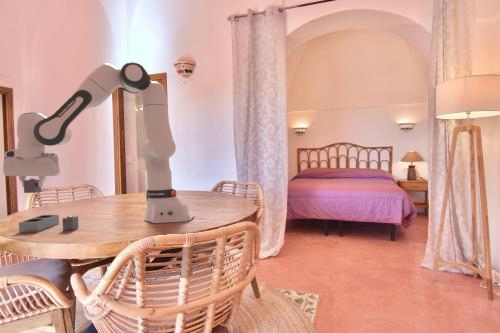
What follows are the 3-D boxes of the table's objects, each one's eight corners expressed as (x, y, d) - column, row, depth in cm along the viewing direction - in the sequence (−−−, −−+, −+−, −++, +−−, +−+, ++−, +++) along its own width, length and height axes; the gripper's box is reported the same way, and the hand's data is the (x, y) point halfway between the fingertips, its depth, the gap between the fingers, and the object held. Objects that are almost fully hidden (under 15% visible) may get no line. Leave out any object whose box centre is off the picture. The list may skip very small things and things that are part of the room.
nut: (41, 191, 120) (40, 178, 120) (34, 192, 116) (34, 178, 116) (31, 191, 120) (30, 178, 120) (24, 192, 116) (23, 178, 116)
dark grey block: (78, 228, 122) (77, 214, 121) (73, 230, 118) (72, 217, 117) (68, 228, 121) (68, 215, 121) (62, 230, 117) (62, 217, 117)
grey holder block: (42, 223, 129) (42, 214, 129) (59, 223, 130) (58, 214, 129) (19, 232, 115) (18, 222, 115) (37, 232, 116) (37, 222, 115)
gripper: (62, 153, 121) (63, 186, 122) (11, 153, 120) (13, 186, 121) (53, 153, 115) (54, 187, 115) (-1, 153, 114) (0, 188, 115)
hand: (32, 187), depth 118 cm, fingers closed on nut, 4 cm apart
